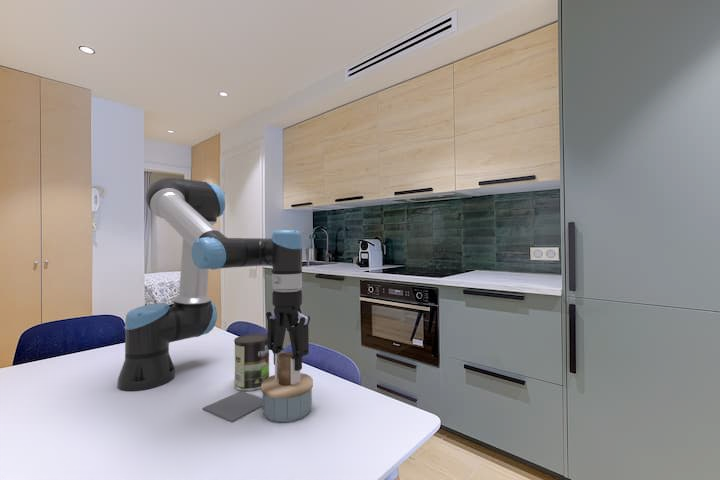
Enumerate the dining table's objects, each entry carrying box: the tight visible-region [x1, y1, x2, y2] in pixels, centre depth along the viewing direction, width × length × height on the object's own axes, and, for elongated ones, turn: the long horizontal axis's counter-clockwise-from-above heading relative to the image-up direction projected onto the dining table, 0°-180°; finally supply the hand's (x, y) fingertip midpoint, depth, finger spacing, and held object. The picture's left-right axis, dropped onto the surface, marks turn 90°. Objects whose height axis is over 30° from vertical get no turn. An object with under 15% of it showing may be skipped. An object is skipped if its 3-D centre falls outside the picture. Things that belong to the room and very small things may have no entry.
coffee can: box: [234, 333, 270, 392], centre depth 102 cm, size 10×10×14 cm
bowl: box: [262, 388, 313, 424], centre depth 85 cm, size 12×12×6 cm
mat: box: [202, 390, 263, 423], centre depth 88 cm, size 12×12×1 cm
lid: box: [260, 351, 314, 399], centre depth 86 cm, size 13×13×8 cm
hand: (287, 380), depth 86 cm, fingers open, 5 cm apart
